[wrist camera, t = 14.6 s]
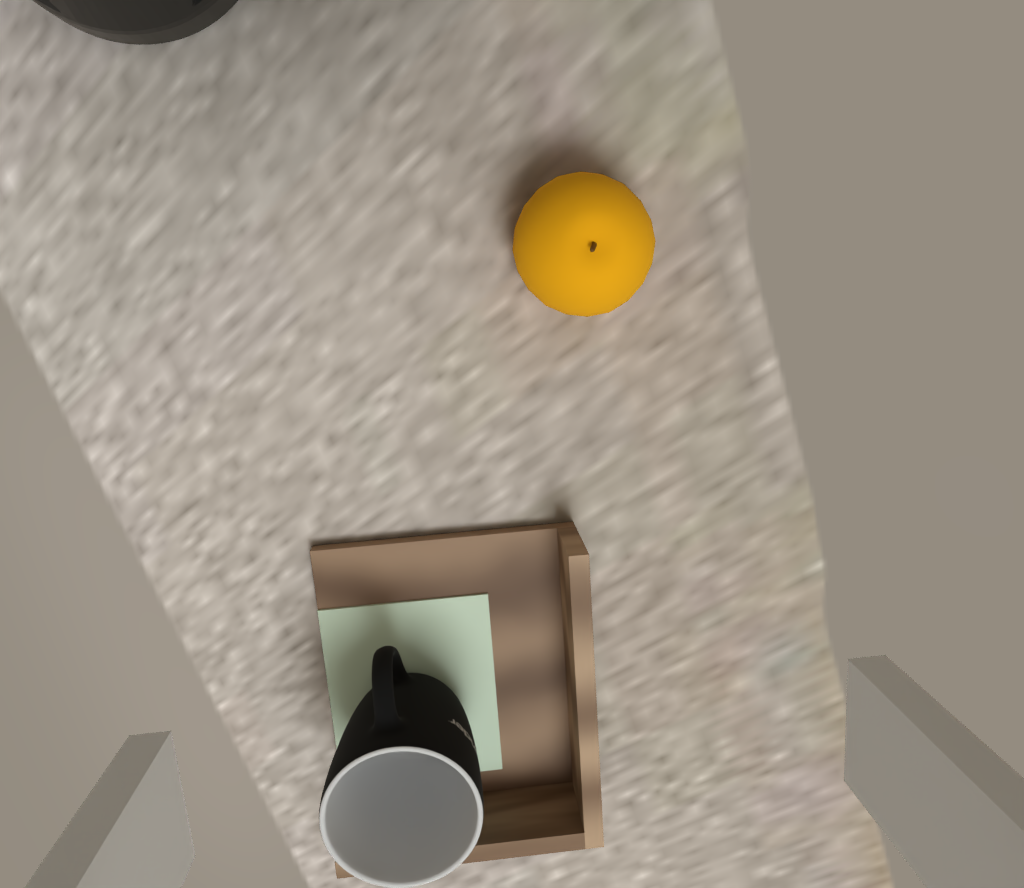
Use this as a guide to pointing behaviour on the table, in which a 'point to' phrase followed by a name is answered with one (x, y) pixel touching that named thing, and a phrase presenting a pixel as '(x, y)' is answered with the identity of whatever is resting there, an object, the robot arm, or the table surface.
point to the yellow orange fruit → (583, 244)
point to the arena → (507, 666)
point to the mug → (403, 781)
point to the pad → (417, 657)
